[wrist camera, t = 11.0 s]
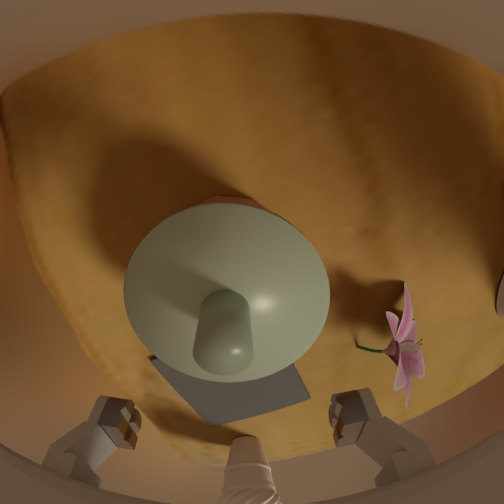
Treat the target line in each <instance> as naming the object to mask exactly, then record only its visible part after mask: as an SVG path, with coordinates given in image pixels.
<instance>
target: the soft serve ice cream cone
mask: <svg viewBox="0 0 504 504" xmlns="http://www.w3.org/2000/svg"><path fill="white" fill-rule="evenodd" d="M224 473H225V476H224V486H223V488H222V495H221V496H220V498H219V500H218V504H281V501H280V495H279V494H277V493H276V489H275V486H274V485H273V480H272V475H271V468H270V466H269V465H268V462H267V459H266V456H265V454H264V451H263V448H262V445H261V442H260V440H259V439H258V438H256V437H252V436H242V437H238V438H235V439H234V440H233V441H232V444H231V449H230V453H229V457H228V461H227V465H226V467H225V469H224Z"/></svg>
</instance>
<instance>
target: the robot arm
mask: <svg viewBox="0 0 504 504" xmlns="http://www.w3.org/2000/svg"><path fill="white" fill-rule="evenodd" d="M497 313H498V315H499V316H500V317H502V318H504V275H503V278H502V280H501V284H500V287H499V291H498V296H497ZM331 402H332V404H331V405H330V406H329V422H330V426H331V427H332V428H334V433H333V437H334V441H335V445H336V447H341V446H346V445H350V444H356V445H357V446H358V447H359V448H361V449H362V450H363V451H364V452H365V453H366V454H367V455H368V456H370V457H371V458H372V459H373V460H374V461H375V462H377V463H378V464H379V465H380V466H381V467H383V469H382V470H381V471H380V473H379V474H378V475H377V476H376V478H375V479H374V480H375V483H376V487H377V488H374V489H371V490H367V491H364V492H360V493H356V494H352V495H348V496H344V497H339V498H335V499H329V500H324V501H318V502H312V503H306V504H504V431H503V430H499V431H496V432H494V433H493V434H491V435H490V436H488V437H486V438H485V439H483V440H482V441H480V442H478V443H477V444H475V445H473V446H471V447H470V448H468V449H466V450H464V451H463V452H461V453H459V454H457V455H455V456H453V457H451V458H449V459H447V460H445V461H443V462H441V463H439V464H437V465H436V462H435V460H434V458H433V456H432V453H431V451H430V449H429V447H428V445H427V443H426V441H424V440H423V439H421V438H420V437H418V436H416V435H415V434H413V433H411V432H410V431H408V430H406V429H405V428H403V427H402V426H400V425H398V424H397V423H395V422H394V421H392V420H391V419H389V418H387V417H386V416H384V417H382V415H381V413H380V411H379V408H378V406H377V404H376V401H375V399H374V397H373V395H372V392H371V390H370V389H369V388H364V389H359V390H353V391H348V392H343V393H338V394H333V395H332V398H331ZM134 406H135V404H134V403H133V401H132V400H128V399H120V398H115V397H109V396H103V395H100V396H99V397H98V398H97V401H96V403H95V405H94V407H93V410H92V411H91V414H90V416H89V418H88V420H87V422H83V423H81V424H80V425H79V426H77V427H76V428H75V429H73V430H71V431H70V432H68V433H67V434H65V435H64V436H63V437H61V438H60V439H58V440H57V441H55V442H54V443H52V444H51V445H50V447H49V449H48V451H47V454H46V456H45V458H44V460H43V463H42V465H39V464H37V463H35V462H33V461H31V460H29V459H27V458H26V457H24V456H22V455H20V454H18V453H16V452H14V451H12V450H11V449H9V448H7V447H6V446H4V445H3V444H1V443H0V504H169V503H162V502H156V501H150V500H146V499H141V498H136V497H131V496H127V495H123V494H119V493H116V492H112V491H108V490H104V489H102V488H100V486H101V482H102V480H101V478H100V477H99V476H98V475H96V474H95V473H94V471H95V470H96V469H97V468H98V467H99V466H100V465H101V464H102V463H103V462H104V461H105V460H106V459H107V458H108V457H109V456H110V455H111V454H112V453H113V452H114V451H115V450H116V449H117V447H120V448H126V449H132V450H134V449H135V446H136V442H137V436H136V433H137V432H138V431H139V430H140V428H141V415H140V413H139V411H138V410H136V409H135V408H134Z"/></svg>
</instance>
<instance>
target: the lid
mask: <svg viewBox="0 0 504 504" xmlns="http://www.w3.org/2000/svg"><path fill="white" fill-rule="evenodd" d="M124 302H125V307H126V312H127V315H128V318H129V320H130V323H131V325H132V327H133V329H134V331H135V333H136V334H137V336H138V337H139V339H140V340H141V341H142V343H143V344H144V345H145V346H146V347H147V348H148V349H149V351H151V352H152V353H153V354H154V355H155V356H156V357H157V358H158V359H160V360H161V361H163V362H164V363H165V364H167V365H169V366H170V367H172V368H174V369H176V370H178V371H180V372H182V373H184V374H187V375H189V376H193V377H196V378H199V379H204V380H208V381H215V382H244V381H250V380H255V379H259V378H262V377H266V376H268V375H271V374H274V373H276V372H278V371H280V370H282V369H284V368H286V367H287V366H289V365H290V364H292V363H293V362H295V361H296V360H297V359H299V358H300V357H301V356H302V355H303V354H304V353H305V352H306V351H307V350H308V349H309V348H310V347H311V346H312V345H313V343H314V342H315V340H316V339H317V337H318V336H319V334H320V332H321V330H322V328H323V326H324V324H325V321H326V318H327V315H328V310H329V305H330V287H329V280H328V276H327V272H326V269H325V267H324V264H323V262H322V260H321V258H320V256H319V254H318V253H317V251H316V250H315V248H314V247H313V245H312V244H311V243H310V241H309V240H308V239H307V238H306V237H305V236H304V234H303V233H302V232H301V231H300V230H299V229H297V228H296V227H295V226H294V225H293V224H291V223H290V222H289V221H287V220H286V219H284V218H282V217H281V216H279V215H277V214H275V213H273V212H271V211H269V210H266V209H264V208H261V207H257V206H254V205H250V204H245V203H238V202H211V203H203V204H199V205H195V206H192V207H188V208H186V209H183V210H181V211H179V212H176V213H174V214H173V215H171V216H169V217H168V218H166V219H164V220H163V221H161V222H160V223H159V224H158V225H157V226H155V227H154V228H153V229H152V230H151V231H150V232H149V233H148V234H147V235H146V237H145V238H144V239H143V240H142V241H141V242H140V243H139V245H138V246H137V248H136V250H135V251H134V253H133V254H132V257H131V259H130V261H129V264H128V266H127V270H126V274H125V279H124Z"/></svg>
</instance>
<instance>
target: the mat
mask: <svg viewBox="0 0 504 504" xmlns="http://www.w3.org/2000/svg"><path fill="white" fill-rule="evenodd" d="M150 362H151V363H152V364H153V365H154V366H155V367H156V369H157V370H158V371H159V372H160V373H161V374H162V375H163V377H164V378H165V379H166V380H167V381H168V382H169V383H170V384H171V385H172V387H173V388H174V389H175V390H176V391H177V392H178V393H179V394H180V395H181V396H182V397H183V398H184V399H185V400H186V401H187V402H188V403H189V405H190V406H191V407H192V408H193V409H194V410H195V411H196V412H197V413H198V414H200V415H201V416H202V417H203V418H204V419H205V420H206V421H207V422H208V423H209V424H210V425H211V426H216V425H220V424H225V423H229V422H234V421H238V420H242V419H246V418H250V417H253V416H257V415H261V414H264V413H268V412H271V411H274V410H278V409H281V408H284V407H287V406H290V405H293V404H296V403H299V402H302V401H305V400H308V399H310V398H311V397H310V395H309V393H308V391H307V389H306V387H305V385H304V383H303V381H302V380H301V378H300V376H299V374H298V372H297V370H296V368H295V366H294V364H293V363H292V364H290V365H289V366H287V367H286V368H284V369H282V370H280V371H278V372H276V373H274V374H271V375H268V376H266V377H262V378H259V379H255V380H250V381H244V382H215V381H208V380H204V379H199V378H196V377H193V376H189V375H187V374H184V373H182V372H180V371H178V370H176V369H174V368H172V367H170V366H169V365H167V364H165V363H164V362H163V361H161V360H160V359H158V358H157V357H155V358H152V359H151V360H150Z"/></svg>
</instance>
